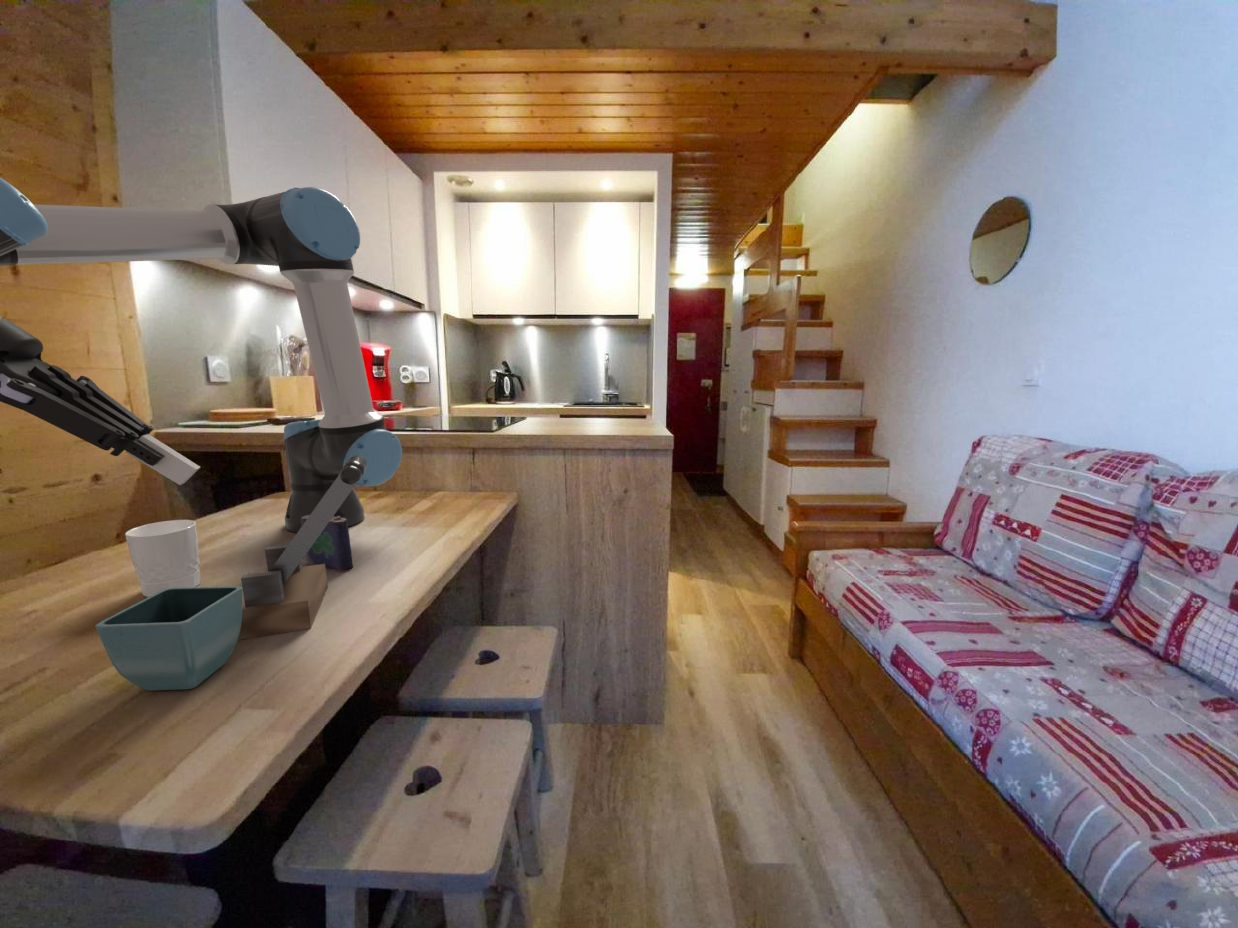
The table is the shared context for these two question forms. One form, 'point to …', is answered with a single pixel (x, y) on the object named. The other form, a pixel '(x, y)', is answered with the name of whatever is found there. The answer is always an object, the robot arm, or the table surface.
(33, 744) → the table surface
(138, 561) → the white cup
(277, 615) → the base
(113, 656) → the flower pot
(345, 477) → the lever
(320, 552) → the flask
